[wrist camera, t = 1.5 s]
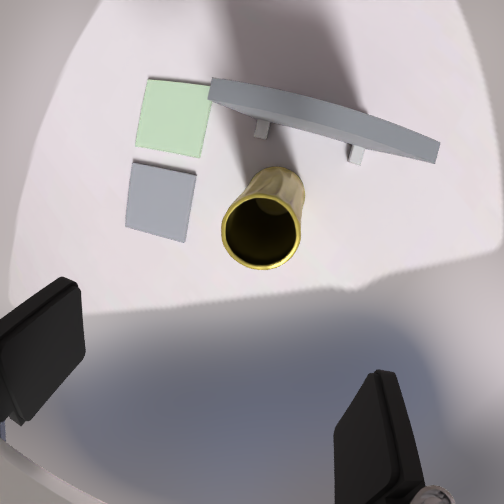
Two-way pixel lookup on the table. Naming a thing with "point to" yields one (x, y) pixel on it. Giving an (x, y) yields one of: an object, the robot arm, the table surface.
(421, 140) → the screen
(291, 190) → the vase
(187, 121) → the pad sage
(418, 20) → the table surface
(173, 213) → the pad slate
